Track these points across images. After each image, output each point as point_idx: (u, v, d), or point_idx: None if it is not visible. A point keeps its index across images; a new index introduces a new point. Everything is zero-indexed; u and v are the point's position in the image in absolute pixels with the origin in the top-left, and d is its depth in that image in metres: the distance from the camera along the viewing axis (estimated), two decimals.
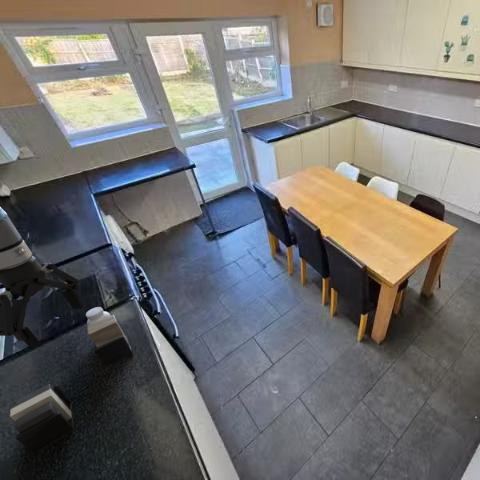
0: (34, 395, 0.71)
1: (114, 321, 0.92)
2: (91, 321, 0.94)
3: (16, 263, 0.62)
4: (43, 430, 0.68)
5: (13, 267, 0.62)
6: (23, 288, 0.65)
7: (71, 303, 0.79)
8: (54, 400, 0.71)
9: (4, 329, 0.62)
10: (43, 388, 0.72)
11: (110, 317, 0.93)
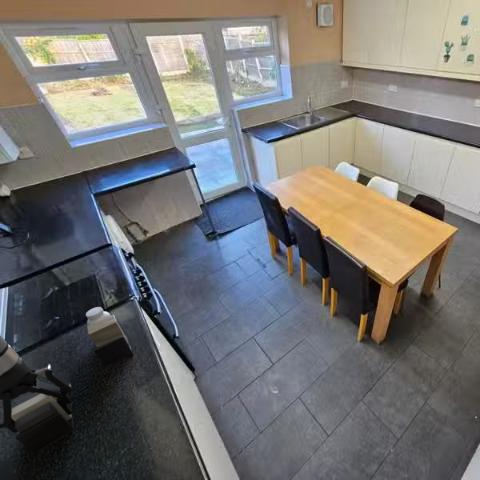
0: (34, 395, 0.71)
1: (114, 321, 0.92)
2: (91, 321, 0.94)
3: None
4: (43, 430, 0.68)
5: None
6: (0, 394, 0.63)
7: None
8: (54, 400, 0.71)
9: None
10: None
11: (110, 317, 0.93)
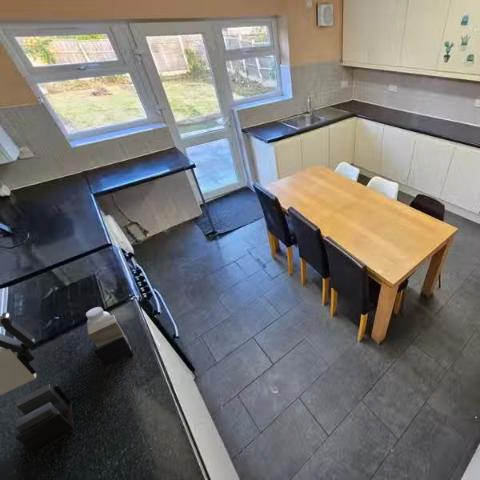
0: (34, 395, 0.71)
1: (114, 321, 0.92)
2: (91, 321, 0.94)
3: None
4: (43, 430, 0.68)
5: None
6: None
7: None
8: (14, 355, 0.62)
9: None
10: (43, 388, 0.72)
11: (110, 317, 0.93)
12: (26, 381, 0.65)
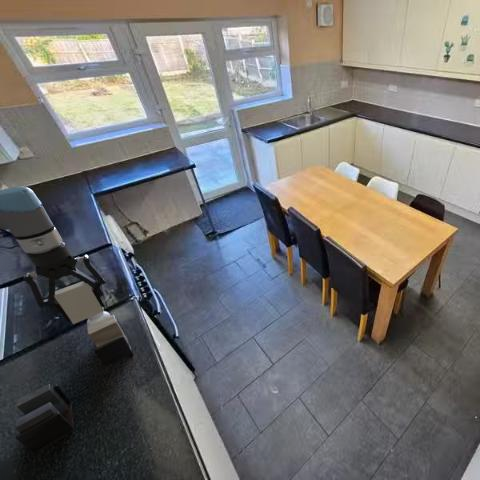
0: (34, 395, 0.71)
1: (114, 321, 0.92)
2: (91, 321, 0.94)
3: (34, 251, 0.67)
4: (43, 430, 0.68)
5: (34, 253, 0.68)
6: (47, 271, 0.71)
7: None
8: (90, 289, 0.79)
9: None
10: (43, 388, 0.72)
11: (110, 317, 0.93)
12: (97, 312, 0.83)
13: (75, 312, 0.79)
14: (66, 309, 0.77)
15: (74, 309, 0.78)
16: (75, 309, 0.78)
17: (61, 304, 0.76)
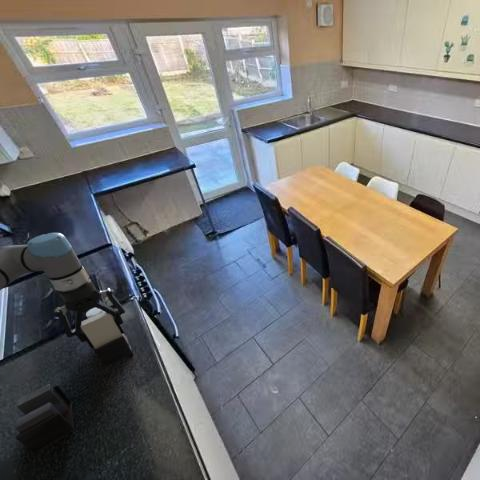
0: (34, 395, 0.71)
1: None
2: None
3: (65, 290, 0.74)
4: (43, 430, 0.68)
5: (65, 291, 0.75)
6: (75, 305, 0.79)
7: None
8: (112, 318, 0.87)
9: None
10: (43, 388, 0.72)
11: None
12: None
13: (99, 340, 0.86)
14: (91, 337, 0.85)
15: (97, 337, 0.86)
16: (98, 337, 0.86)
17: (86, 333, 0.83)
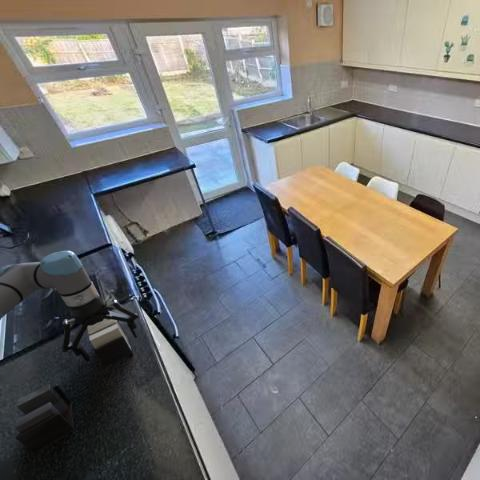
0: (34, 395, 0.71)
1: (114, 321, 0.92)
2: None
3: (75, 305, 0.77)
4: (43, 430, 0.68)
5: (75, 306, 0.78)
6: (84, 320, 0.82)
7: None
8: (120, 332, 0.90)
9: (62, 346, 0.81)
10: (43, 388, 0.72)
11: None
12: None
13: None
14: None
15: None
16: None
17: (95, 347, 0.86)
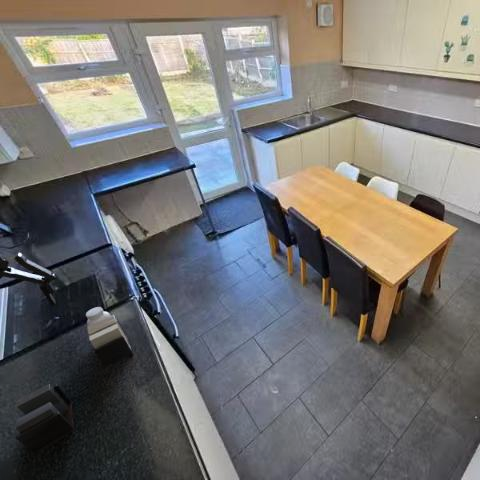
0: (34, 395, 0.71)
1: (114, 321, 0.92)
2: (91, 321, 0.94)
3: None
4: (43, 430, 0.68)
5: None
6: None
7: None
8: (120, 332, 0.90)
9: None
10: (43, 388, 0.72)
11: (110, 317, 0.93)
12: None
13: None
14: None
15: None
16: None
17: (95, 347, 0.86)
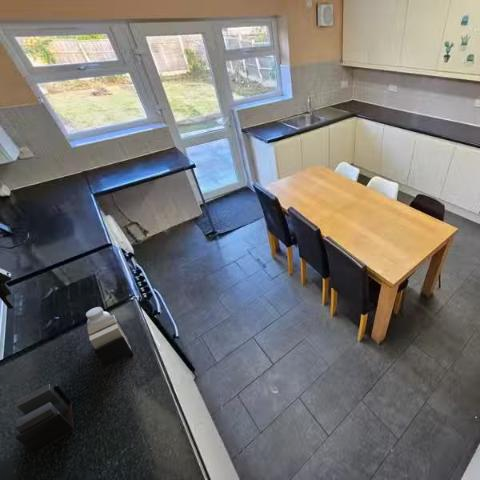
0: (34, 395, 0.71)
1: (114, 321, 0.92)
2: (91, 321, 0.94)
3: None
4: (43, 430, 0.68)
5: None
6: None
7: None
8: (120, 332, 0.90)
9: None
10: (43, 388, 0.72)
11: (110, 317, 0.93)
12: None
13: None
14: None
15: None
16: None
17: (95, 347, 0.86)
